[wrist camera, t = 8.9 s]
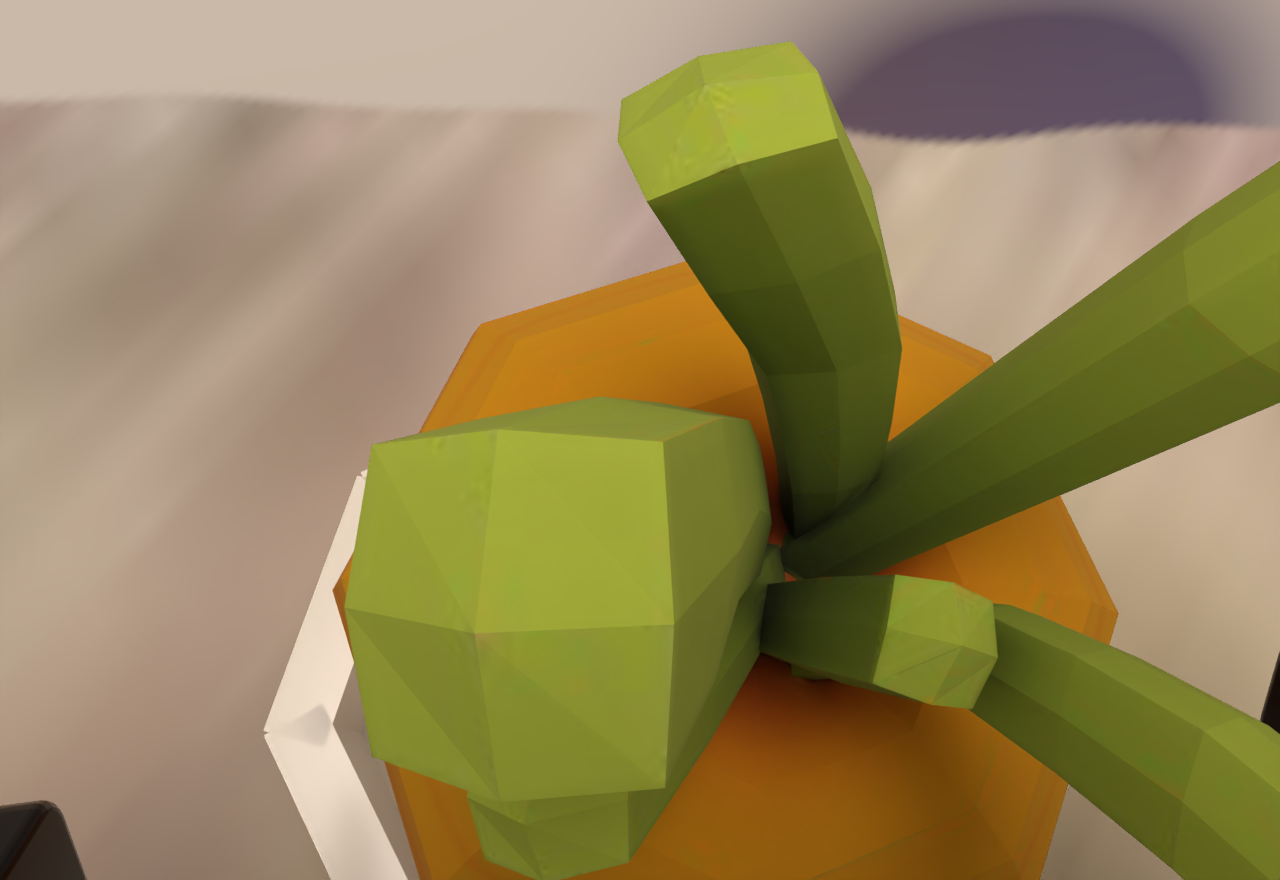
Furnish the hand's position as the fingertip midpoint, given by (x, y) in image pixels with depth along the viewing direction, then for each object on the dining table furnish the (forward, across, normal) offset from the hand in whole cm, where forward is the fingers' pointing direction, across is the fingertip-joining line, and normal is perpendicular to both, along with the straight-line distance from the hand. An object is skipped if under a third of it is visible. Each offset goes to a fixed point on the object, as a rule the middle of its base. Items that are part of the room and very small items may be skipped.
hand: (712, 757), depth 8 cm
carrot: (+7, 0, +6) cm, 9 cm away
